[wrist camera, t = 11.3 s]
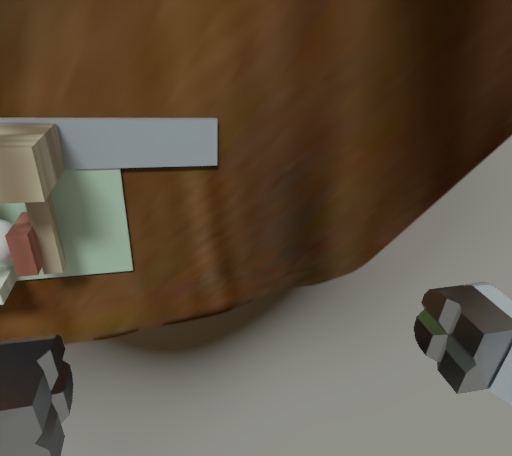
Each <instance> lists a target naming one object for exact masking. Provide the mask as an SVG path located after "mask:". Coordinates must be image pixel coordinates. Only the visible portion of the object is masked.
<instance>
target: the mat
mask: <svg viewBox="0 0 512 456" xmlns="http://www.w3.org/2000/svg"><path fill="white" fill-rule="evenodd" d="M50 193H51V197H52V202H53V206H54V211H55V215H56V219H57V224H58V228H59V232H60V237H61V241H62V245H63V250H64V254H65V259H66V266H65V269H64V272H63V273H55V274H44V273H43V269H42V268H41V270H40V272H39V274H38V275H32V276H20V277H18V276H17V278H18V279H17V280H16V281H18V280H30V279H42V278H53V277H65V276H76V275H88V274H99V273H111V272H122V271H133V263H132V255H131V247H130V240H129V232H128V224H127V216H126V208H125V200H124V193H123V185H122V177H121V169H120V168H108V169H71V170H64V171H63V173H62V174H61V176H60V177H59V179H58V181H57V182H56V184H55V186H54V187H53V189H52V191H51V192H50ZM21 212H27V210H26V206H25V203H6V204H0V219H2V220H6V221H8V222H10V223H12V224H14V223H15V221H16V220H17V218H18V217H19V215H20V214H21ZM8 266H14V263H13V260H12V259H10V260H8V261H6V262H3V263H0V267H8ZM14 269H15V267H14ZM15 272H16V270H15ZM16 275H17V273H16Z"/></svg>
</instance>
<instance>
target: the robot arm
mask: <svg viewBox="0 0 512 456" xmlns="http://www.w3.org/2000/svg"><path fill="white" fill-rule="evenodd" d="M422 305H423V307H424V310H423V311H422V312H421V313H420V314H419V315H418V316H417V317H416V321H415V325H414V332H415V339H416V341H417V343H418V345H419V347H420V348H421V350H422V351H423V352H424V354H425V355H426V356H428V357H430V358H432V359H433V360H435V361H437V365H438V371H439V372H440V373H441V375H442V376H443V377H444V378H445V380H446V381H447V382H448V383H449V384H450V386H451V387H452V388H453V390H454V391H455V392H456V393H457V394H458V393H464V392H471V391H477V390H483V389H488V388H490V390H489V391H491V392H492V393H493V394H495V395H496V396H498V397H499V398H501V399H503V400H504V401H506V402H507V403H509V404H510V405H512V300H511V299H510V298H508V297H507V296H506V295H504V294H503V293H502V292H501V291H499V290H498V289H496V288H495V287H494V286H493V285H491V284H488V283H485V282H479V283H472V284H466V285H459V286H452V287H444V288H437V289H429V290H428V291H427V292H426V293H425V294H424V297H423V300H422ZM64 352H65V346H64V342H63V339H62V336H60V335H58V334H55V335H45V336H35V337H25V338H15V339H5V340H0V456H61V451H62V447H63V442H64V437H65V435H64V432H63V429H62V426H61V423H62V422H63V421H64V420H65V419H66V418H67V417H68V416H69V414H70V409H71V404H72V396H73V378H72V372H71V368H70V365H69V364H68V363H66V362H64V361H63V356H64Z"/></svg>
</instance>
